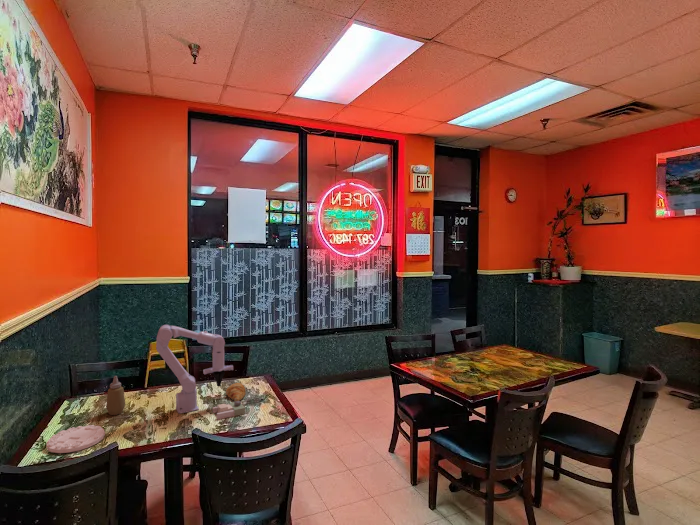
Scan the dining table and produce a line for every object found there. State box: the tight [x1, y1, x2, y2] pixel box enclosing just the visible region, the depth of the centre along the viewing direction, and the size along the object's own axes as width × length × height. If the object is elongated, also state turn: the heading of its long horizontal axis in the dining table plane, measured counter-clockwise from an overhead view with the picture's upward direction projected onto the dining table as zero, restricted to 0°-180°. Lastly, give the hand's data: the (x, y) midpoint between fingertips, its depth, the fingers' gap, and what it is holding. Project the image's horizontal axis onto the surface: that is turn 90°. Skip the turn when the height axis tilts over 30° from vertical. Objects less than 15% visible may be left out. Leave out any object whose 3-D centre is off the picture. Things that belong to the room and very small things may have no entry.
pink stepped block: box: [217, 403, 233, 413], centre depth 195 cm, size 6×5×4 cm
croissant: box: [225, 382, 247, 402], centre depth 218 cm, size 21×10×8 cm, turn 20°
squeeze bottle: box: [105, 375, 126, 416], centre depth 194 cm, size 8×8×18 cm
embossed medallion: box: [46, 424, 106, 454], centre depth 166 cm, size 20×20×3 cm
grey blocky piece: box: [212, 400, 246, 420], centre depth 196 cm, size 13×10×5 cm
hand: (218, 385), depth 206 cm, fingers closed
